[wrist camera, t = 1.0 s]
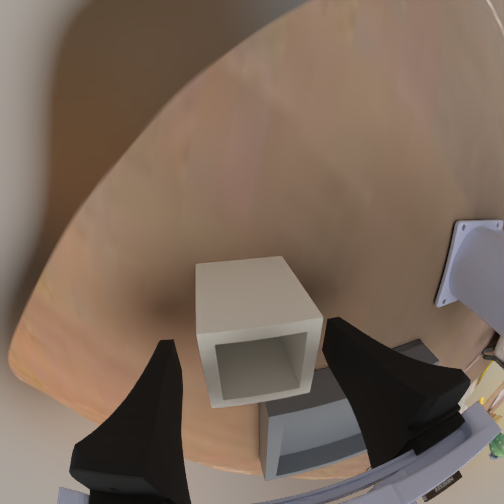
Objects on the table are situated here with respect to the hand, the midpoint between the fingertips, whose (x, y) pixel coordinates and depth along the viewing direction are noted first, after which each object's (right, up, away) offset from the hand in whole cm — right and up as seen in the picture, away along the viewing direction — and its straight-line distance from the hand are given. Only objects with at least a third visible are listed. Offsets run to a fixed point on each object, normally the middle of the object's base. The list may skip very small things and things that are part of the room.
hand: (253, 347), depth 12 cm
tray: (+8, -12, +12) cm, 19 cm away
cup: (-1, +2, +4) cm, 5 cm away
